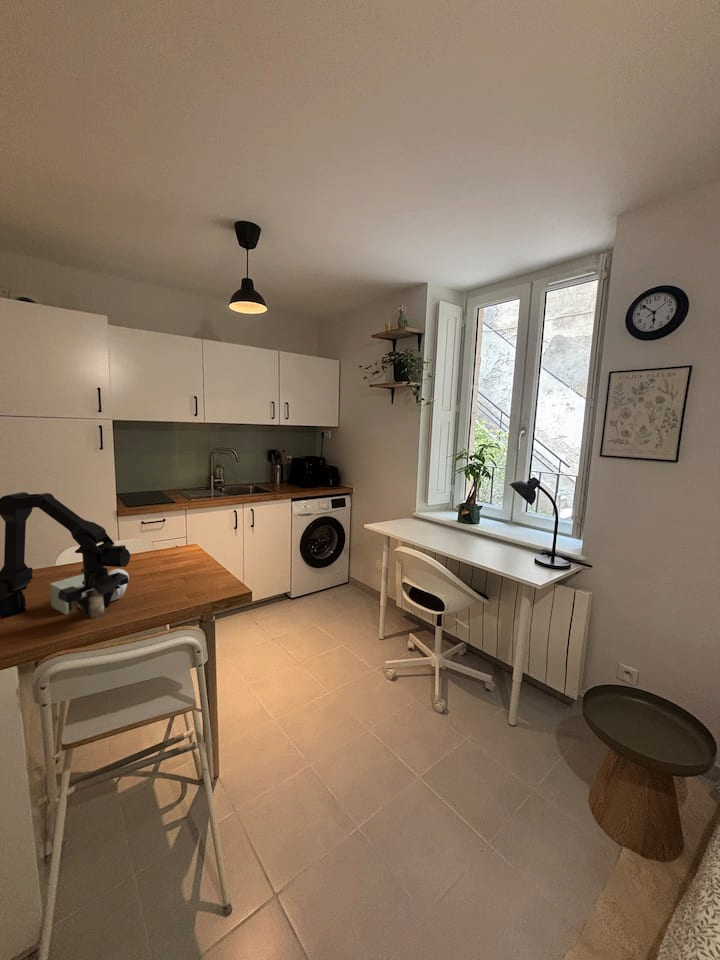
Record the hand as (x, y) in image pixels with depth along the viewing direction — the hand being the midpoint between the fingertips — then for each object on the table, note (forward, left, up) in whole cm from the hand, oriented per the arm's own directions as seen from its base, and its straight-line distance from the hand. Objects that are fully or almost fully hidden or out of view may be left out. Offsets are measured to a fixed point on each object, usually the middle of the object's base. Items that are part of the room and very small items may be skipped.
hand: (96, 611), depth 129 cm
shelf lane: (0, +12, -1) cm, 13 cm away
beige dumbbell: (0, +7, -1) cm, 7 cm away
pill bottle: (+15, +15, +3) cm, 22 cm away
